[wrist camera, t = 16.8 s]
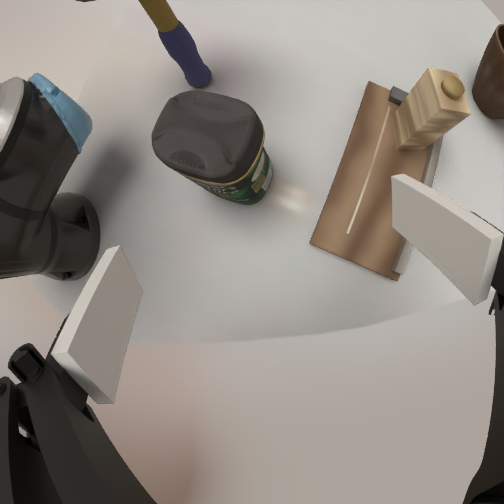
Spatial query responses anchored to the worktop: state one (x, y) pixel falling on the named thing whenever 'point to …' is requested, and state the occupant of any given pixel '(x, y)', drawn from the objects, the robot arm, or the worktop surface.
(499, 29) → the plant pot
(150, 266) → the worktop surface
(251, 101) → the worktop surface
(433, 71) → the beige tall block
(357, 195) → the walnut board
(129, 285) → the robot arm
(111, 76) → the worktop surface
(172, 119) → the coffee jar
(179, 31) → the rubber mallet
